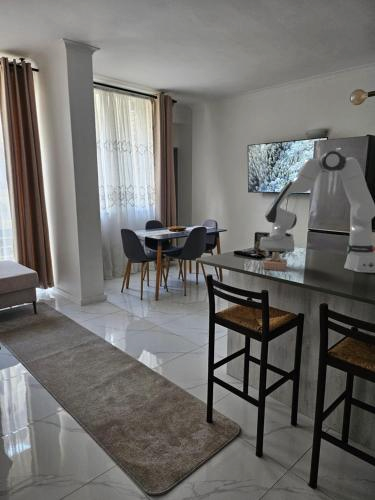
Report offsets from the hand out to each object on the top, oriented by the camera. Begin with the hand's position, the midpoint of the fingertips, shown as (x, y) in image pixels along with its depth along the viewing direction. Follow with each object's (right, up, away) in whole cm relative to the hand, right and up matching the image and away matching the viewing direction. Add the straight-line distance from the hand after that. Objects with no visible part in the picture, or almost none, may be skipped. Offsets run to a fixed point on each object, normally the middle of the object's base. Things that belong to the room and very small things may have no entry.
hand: (275, 256), depth 201 cm
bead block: (0, -7, +2) cm, 7 cm away
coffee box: (-1, 0, +35) cm, 35 cm away
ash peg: (0, -7, +2) cm, 7 cm away
